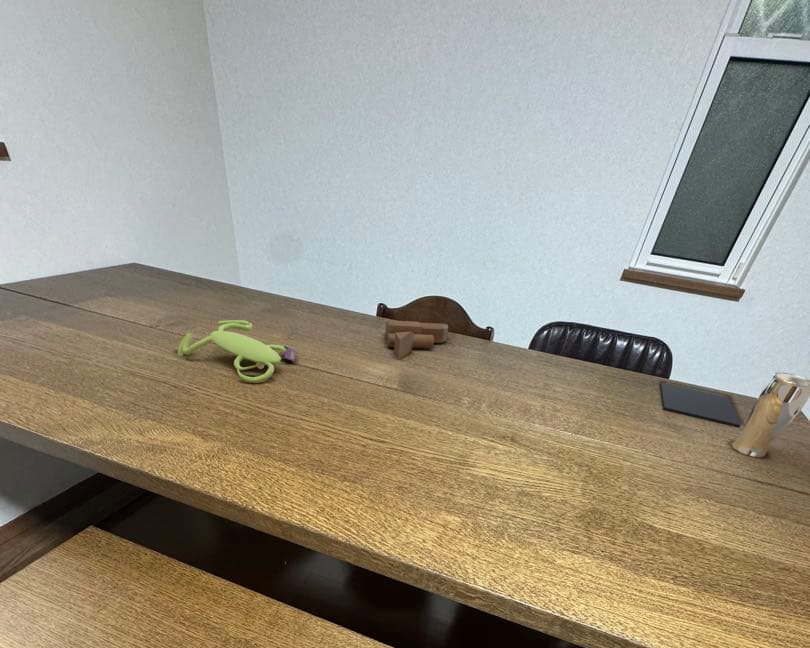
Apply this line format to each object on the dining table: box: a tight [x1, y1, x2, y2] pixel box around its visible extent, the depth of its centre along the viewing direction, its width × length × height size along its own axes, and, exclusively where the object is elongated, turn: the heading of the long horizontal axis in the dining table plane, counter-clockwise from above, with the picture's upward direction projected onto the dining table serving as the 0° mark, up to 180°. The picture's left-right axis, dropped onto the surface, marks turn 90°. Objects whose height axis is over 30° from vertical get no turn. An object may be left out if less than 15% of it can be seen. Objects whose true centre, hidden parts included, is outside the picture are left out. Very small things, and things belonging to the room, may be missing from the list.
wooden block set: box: [384, 319, 449, 361], centre depth 118 cm, size 17×6×18 cm
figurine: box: [177, 319, 298, 384], centre depth 100 cm, size 18×27×6 cm
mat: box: [659, 382, 741, 428], centre depth 108 cm, size 16×18×1 cm
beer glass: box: [731, 372, 810, 458], centre depth 85 cm, size 7×7×15 cm
